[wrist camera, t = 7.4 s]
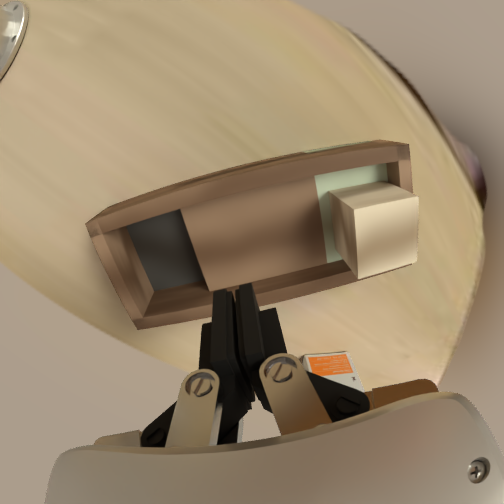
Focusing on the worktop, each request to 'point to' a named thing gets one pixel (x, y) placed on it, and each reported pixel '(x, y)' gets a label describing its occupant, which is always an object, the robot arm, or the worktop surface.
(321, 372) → the skincare box
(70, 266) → the worktop surface
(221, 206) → the channel
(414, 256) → the birch block
